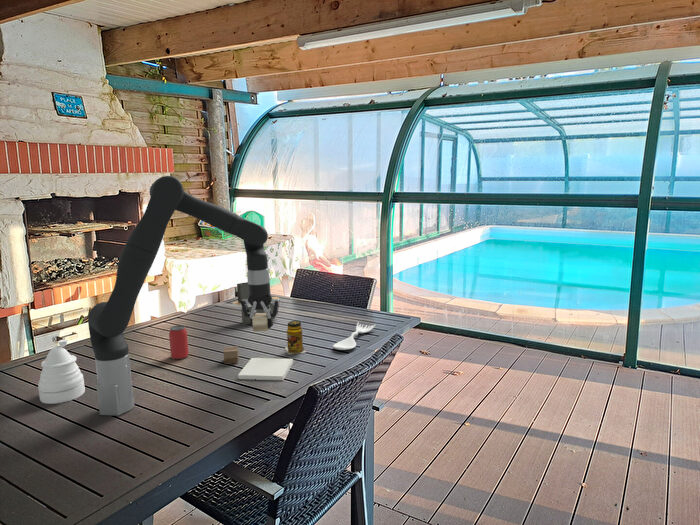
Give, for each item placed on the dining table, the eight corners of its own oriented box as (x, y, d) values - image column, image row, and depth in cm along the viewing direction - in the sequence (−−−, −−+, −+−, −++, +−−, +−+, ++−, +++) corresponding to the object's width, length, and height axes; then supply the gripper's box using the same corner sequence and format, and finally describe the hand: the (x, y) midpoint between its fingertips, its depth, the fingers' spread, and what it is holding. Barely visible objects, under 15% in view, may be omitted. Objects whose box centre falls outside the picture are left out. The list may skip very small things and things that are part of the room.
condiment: (288, 355, 193) (287, 325, 191) (284, 347, 201) (283, 319, 199) (306, 352, 195) (305, 323, 193) (302, 345, 203) (301, 317, 201)
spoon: (376, 330, 222) (376, 323, 221) (350, 355, 193) (349, 346, 192) (357, 328, 225) (357, 321, 225) (329, 352, 196) (328, 344, 196)
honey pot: (75, 383, 170) (69, 333, 167) (91, 393, 162) (85, 341, 159) (33, 396, 161) (26, 343, 157) (49, 407, 153) (41, 352, 149)
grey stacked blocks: (280, 308, 260) (278, 272, 256) (304, 320, 240) (303, 280, 236) (209, 323, 237) (206, 283, 234) (230, 336, 217) (227, 293, 214)
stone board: (283, 380, 170) (282, 376, 169) (238, 379, 171) (237, 374, 171) (293, 362, 185) (293, 358, 185) (251, 361, 187) (251, 357, 187)
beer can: (183, 360, 189) (180, 330, 187) (167, 359, 191) (165, 329, 188) (191, 354, 196) (189, 325, 194) (176, 353, 197) (174, 324, 195)
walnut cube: (237, 363, 186) (237, 350, 185) (224, 364, 185) (223, 351, 184) (238, 358, 191) (238, 346, 190) (225, 359, 190) (224, 347, 189)
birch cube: (267, 331, 172) (266, 317, 171) (253, 331, 173) (252, 317, 172) (270, 326, 177) (269, 313, 176) (257, 326, 178) (256, 313, 177)
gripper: (235, 284, 169) (239, 331, 172) (276, 283, 167) (279, 331, 170) (242, 279, 176) (245, 324, 179) (281, 278, 174) (284, 324, 178)
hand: (262, 327), depth 175 cm, fingers closed on birch cube, 5 cm apart
